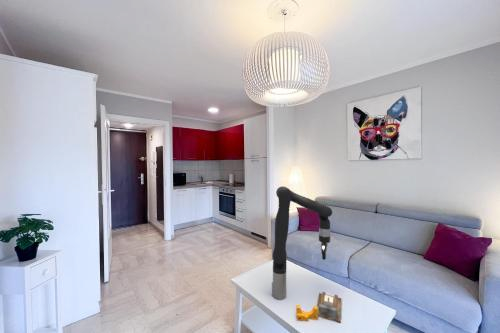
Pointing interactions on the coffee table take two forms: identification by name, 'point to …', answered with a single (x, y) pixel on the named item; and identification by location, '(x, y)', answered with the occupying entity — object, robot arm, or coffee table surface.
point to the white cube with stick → (328, 301)
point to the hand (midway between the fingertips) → (323, 259)
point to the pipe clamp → (306, 314)
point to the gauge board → (329, 308)
